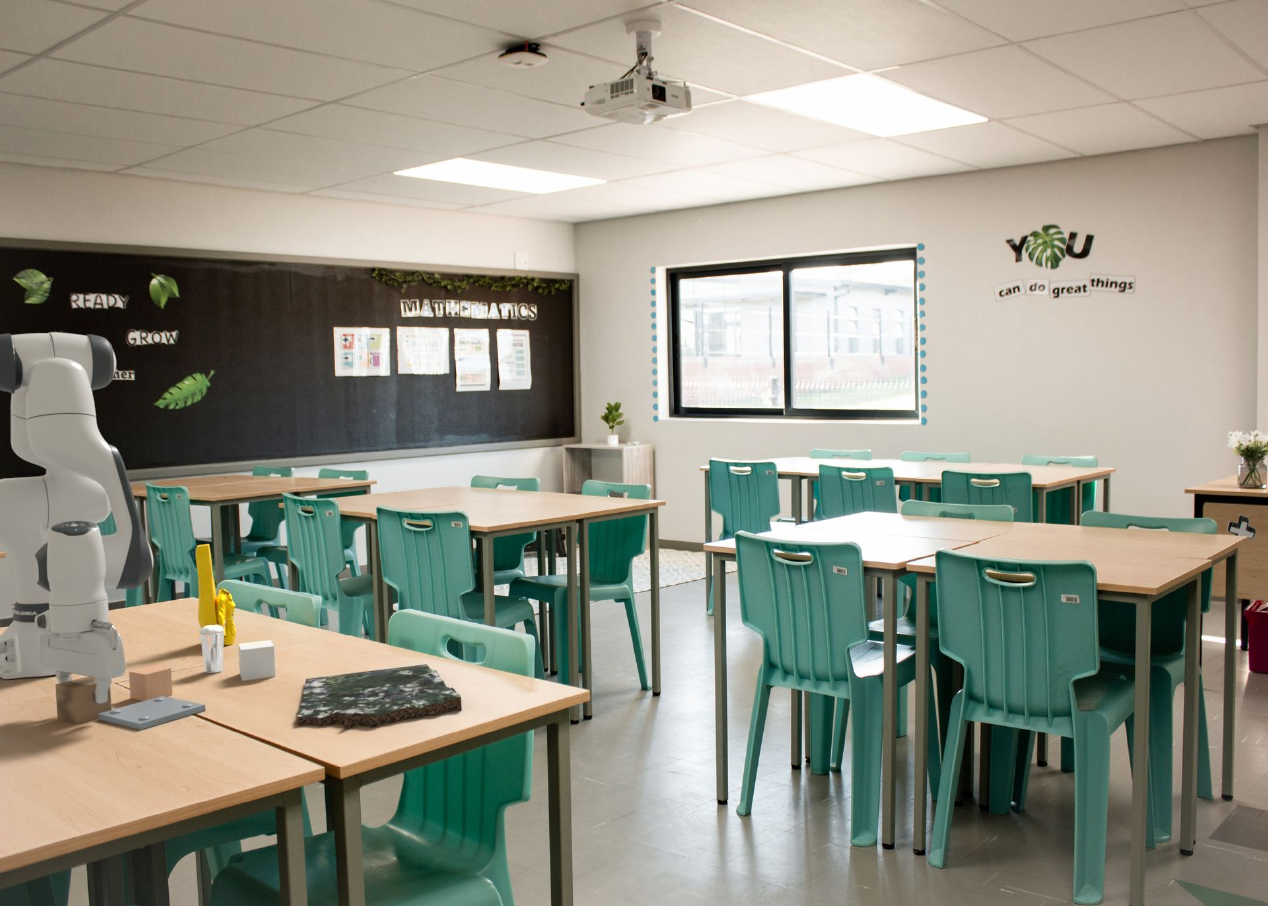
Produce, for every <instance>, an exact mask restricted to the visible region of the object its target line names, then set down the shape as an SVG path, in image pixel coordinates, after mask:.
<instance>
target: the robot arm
mask: <svg viewBox="0 0 1268 906" xmlns="http://www.w3.org/2000/svg"><path fill="white" fill-rule="evenodd" d="M116 369H117V358H116V354H115V352H114V348H113V346H112V344H111V343H110V341H108V339H107V338H105V337H103V336H100V335H95V334H86V335H84V334H83V335H82V334H76V333H68V332H56V331H55V332H53V331H51V332H50V331H49V332H48V333H44V332H42V333H41V332H38V333H37V332H36V333H22V334H21V333H20V334H11V333H3V334H1V333H0V391H3V392H7V393H9V394H11V395H10V396H11V398H10V444H11V449H12V451H13V452H14V453H15V454H16V455H17V456H18V457H19V458H21V459H22V460H23V461H26V462H29V463H31V464H34V465H37V466H39V467H42V468H43V469H45V470H46V471H45V474H44V475H40V476H28V477H27V476H26V477H13V478H1V479H0V546H1V547H2V548H3V550H4V551H5V553H6V555H7V556H8V558H9V560H10V562H11V565H12V568H13V569H12V570H13V574H14V582H15V589H16V592H15V593H16V602H15V603H13V604H11V606H14V607H13V608H12V609H11V610H12V620H13V621H12V622H11V623H10V624H9V626H7V628H6V629H4V631H3V632H2V633H1V634H0V678H2V679H3V680H11V679H20V678H35V677H48V676H53V675H55V677H56V679H57V682H58V684H59V683H63V682H68V681H72V680H73V679H72V674H74V675H77V676H78V675H79V676H84V677H88V676H89V677H94V679H95V684H97V686H96V690H95V692H93V693H92V695H93V702H95V703H99V704H101V703H104V702H107V700H108V693H107V691H108V689H109V687H110V688H111V684H112V679H115V678H119V677H122V676H124V675H125V673H126V670H127V664H126V657H125V649H124V643H123V638H122V636H121V634H120V633H119V632H118V630H117V629H116V627H114V625H113V623H112V622H110V617H109V616H110V613H109V598H108V593H107V590H112V589H115V590H125V589H126V590H130V589H131V590H132V589H133V590H135V589H138V588H139V587H140V586H142V585H143V584H144V583H145V582H146V581H147V580H148V579H149V578H150V577H151V576H152V574H153V572H154V571H153V569H154V555H153V551H152V547H151V545H150V543H149V542H148V539H147V537H146V534H145V530H144V527H143V525H142V521H141V518H140V514H139V510H138V507H137V503H136V500H135V495H134V492H133V490H132V485H131V482H130V478H129V475H128V472H127V469H126V466H125V462H124V460H123V457H122V455H121V453H120V451H119V450H118V449H117V447H116V446H114V445H113V444H109V443H108V442H107V441H106V440H105V439H104V437H103V436H102V434H101V432H100V429H99V428H98V423H97V413H96V407H95V400H94V395H93V391H95V390H99V389H103V388H106V387H107V386H108V385H110V384H111V382H112V381H113V379H114V375H115V373H116ZM110 514H112V516H113V520H114V523H115V528H116V531H115V532H114V533H111V534H107V535H105V534H104V535H102V534H101V529H100V527H99V525H98V524H99V523H103V522H104V521H106V520H107V518H108V517H109V516H110ZM46 531H47V532H48V539H47V542H44V540H43V537H42V533H43V532H46Z"/></svg>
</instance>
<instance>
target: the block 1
mask: <svg viewBox="0 0 1268 906" xmlns="http://www.w3.org/2000/svg"><path fill="white" fill-rule="evenodd" d="M96 686H97V684H95V679H94V677H89V676H84V677H80V678H76V679H72V681H68V682H63V683H59V682H58V683H55V697H56V699H55V701H56V715H57V716H56V717H57V720H61V721H62V722H63V721H64V722H68V723H73V724H76V725H79V724H83V723H87V722H89V721H93V720H96V719H97V720H98V714H99V713H103V712H106V711H110V710H112V697H111V694H112V693H111V686H110V687H109V689H108V691H107V693H108V700H107V702H104V703H101V704H99V703H95V702H93V695H92V693H93V692H95V690H96Z"/></svg>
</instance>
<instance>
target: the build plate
mask: <svg viewBox="0 0 1268 906" xmlns="http://www.w3.org/2000/svg"><path fill="white" fill-rule="evenodd" d="M202 712H206V704H203V703H200V702H199V703H198V702H194V701H188V700H185V699H180V698H175V697H170V696H167V697H166V696H160V697H157V698H153V699H150V700H146V701H139V702H136V703H132V704H128V705H124V706H121V707H118V708H115V709H111V710H110V711H106V712H103V713H99V714H98V718H97V720H98V721H102V722H106V723H110V724H115V725H118V726H122V727H126V728H131V729H135V730H138V731H139V730H140V731H142V730H145V729H149V728H153V727H155V726H158V725H161V724H165V723H168V722H171V721H175V720H178V719H181V718H185V717H188V716H192V715H195V714H198V713H202Z"/></svg>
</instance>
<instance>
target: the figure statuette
mask: <svg viewBox="0 0 1268 906" xmlns="http://www.w3.org/2000/svg"><path fill="white" fill-rule="evenodd" d="M210 547H211V546H210V544H209V543H206V544H199V545H196V548H195V560H196V568H197V571H196V572H197V579H198V584H197V585H198V611H197V617H198V618H197V620H198V625H199V627H200V630H201V629H202V628H203V627H205V626H207V625H219V626H222V627H223V626H224V623H225V621H226V624H225V627H224V646H230V645H233V644H234V642H235V639H236V637H237V636H236V634H237V630H236V629H237V628H236V625H235V621H234V613H235V607H236V605H237V604H235V602H234V601H233V597H232V596H233V595H232V594H231V593H230V592H229V591H227V590H226V589H225V588H220V589H219V588H218V594H217V589H216V584H215V579H214V571H213V564H212V563H213V562H212V561H213V560H212V553H211V548H210Z"/></svg>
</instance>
